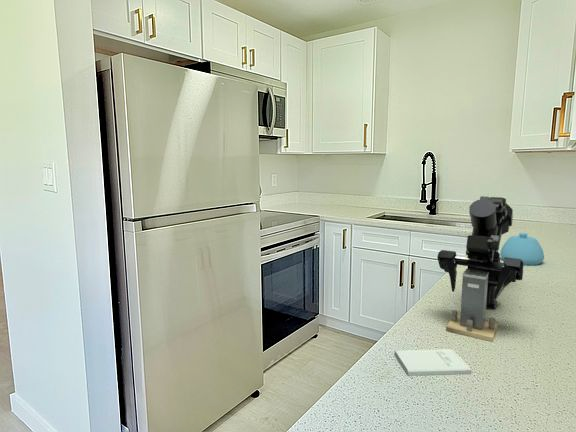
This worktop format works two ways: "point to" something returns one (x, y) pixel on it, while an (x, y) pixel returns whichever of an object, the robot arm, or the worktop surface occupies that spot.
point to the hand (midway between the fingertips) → (473, 294)
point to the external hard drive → (431, 362)
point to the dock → (484, 334)
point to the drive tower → (474, 298)
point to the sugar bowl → (523, 249)
